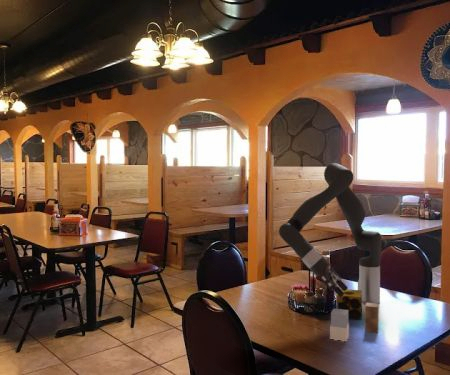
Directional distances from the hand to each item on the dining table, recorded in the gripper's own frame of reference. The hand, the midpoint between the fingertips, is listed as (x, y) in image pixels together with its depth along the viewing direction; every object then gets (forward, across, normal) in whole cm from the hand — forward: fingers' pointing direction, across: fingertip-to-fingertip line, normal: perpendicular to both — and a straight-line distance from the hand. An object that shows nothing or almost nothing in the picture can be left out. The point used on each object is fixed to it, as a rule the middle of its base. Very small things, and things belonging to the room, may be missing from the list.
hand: (344, 292), depth 172 cm
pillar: (+17, 0, +2) cm, 17 cm away
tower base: (+10, -12, +10) cm, 18 cm away
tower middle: (+6, -12, +6) cm, 15 cm away
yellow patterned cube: (+10, +14, +10) cm, 20 cm away
